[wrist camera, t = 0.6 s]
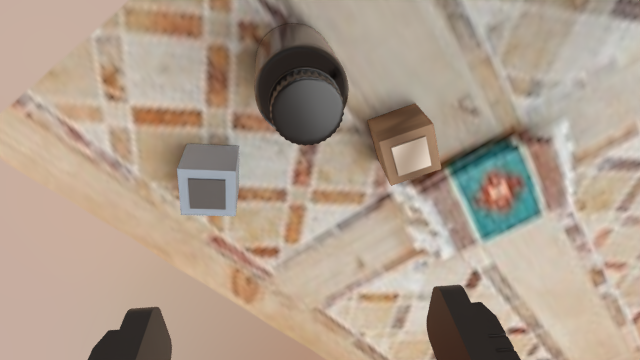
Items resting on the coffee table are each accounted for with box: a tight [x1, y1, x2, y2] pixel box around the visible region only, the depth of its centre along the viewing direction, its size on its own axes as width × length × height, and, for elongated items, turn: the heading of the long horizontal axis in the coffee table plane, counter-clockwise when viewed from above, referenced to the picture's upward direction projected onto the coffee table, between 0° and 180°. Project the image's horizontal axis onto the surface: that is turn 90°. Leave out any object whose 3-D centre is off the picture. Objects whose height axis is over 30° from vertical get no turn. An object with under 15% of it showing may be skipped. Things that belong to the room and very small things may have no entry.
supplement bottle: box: [255, 23, 349, 145], centre depth 29 cm, size 7×7×12 cm
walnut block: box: [367, 103, 441, 186], centre depth 37 cm, size 5×5×5 cm
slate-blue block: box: [177, 143, 239, 216], centre depth 37 cm, size 5×5×5 cm
